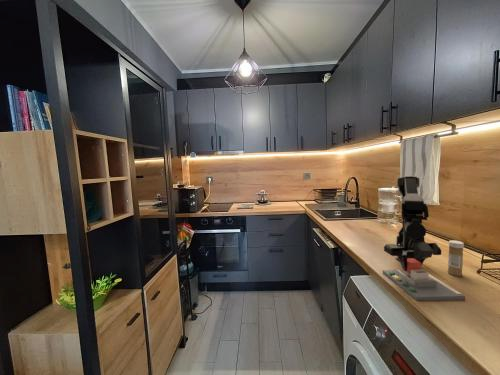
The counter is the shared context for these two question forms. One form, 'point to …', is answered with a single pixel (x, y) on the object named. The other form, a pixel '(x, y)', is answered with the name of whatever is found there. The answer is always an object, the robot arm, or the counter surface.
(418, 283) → the breaker panel
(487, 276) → the counter surface
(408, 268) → the cap
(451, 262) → the sprinkles bottle
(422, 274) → the panel
